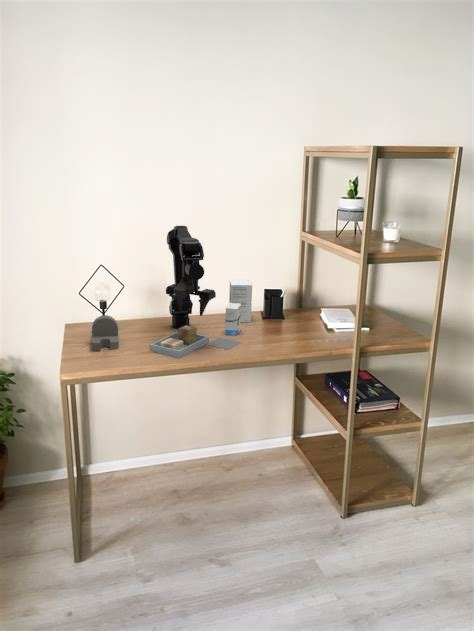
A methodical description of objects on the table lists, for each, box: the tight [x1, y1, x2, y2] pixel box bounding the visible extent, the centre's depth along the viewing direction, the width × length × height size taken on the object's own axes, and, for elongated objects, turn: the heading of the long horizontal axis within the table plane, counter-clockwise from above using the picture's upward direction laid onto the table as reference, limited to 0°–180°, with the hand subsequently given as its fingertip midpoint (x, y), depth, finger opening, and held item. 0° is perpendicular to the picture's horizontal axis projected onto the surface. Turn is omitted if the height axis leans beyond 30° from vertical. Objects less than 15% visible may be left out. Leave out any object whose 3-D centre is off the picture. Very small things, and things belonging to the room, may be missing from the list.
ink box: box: [225, 303, 242, 336], centre depth 227 cm, size 8×5×12 cm, turn 168°
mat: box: [205, 336, 242, 351], centre depth 215 cm, size 10×10×1 cm
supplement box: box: [228, 279, 253, 323], centre depth 245 cm, size 10×9×17 cm
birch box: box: [160, 338, 183, 350], centre depth 206 cm, size 6×6×4 cm
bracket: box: [91, 315, 120, 353], centre depth 213 cm, size 10×18×11 cm, turn 12°
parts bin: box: [149, 331, 210, 359], centre depth 210 cm, size 13×19×3 cm
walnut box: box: [177, 325, 198, 346], centre depth 214 cm, size 5×5×6 cm
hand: (190, 313), depth 212 cm, fingers open, 9 cm apart
